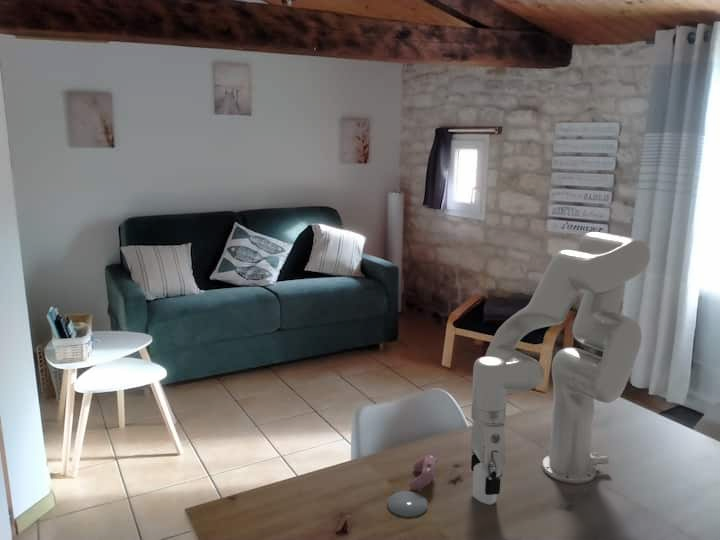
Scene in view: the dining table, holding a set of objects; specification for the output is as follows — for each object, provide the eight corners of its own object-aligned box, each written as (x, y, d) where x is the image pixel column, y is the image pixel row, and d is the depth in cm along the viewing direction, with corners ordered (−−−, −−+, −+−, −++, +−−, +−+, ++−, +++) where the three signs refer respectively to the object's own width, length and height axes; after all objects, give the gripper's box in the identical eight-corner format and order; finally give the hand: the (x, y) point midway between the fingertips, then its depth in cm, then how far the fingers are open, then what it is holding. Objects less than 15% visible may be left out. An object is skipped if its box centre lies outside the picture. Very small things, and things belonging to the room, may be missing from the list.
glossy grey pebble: (422, 492, 142) (422, 489, 142) (431, 515, 133) (431, 512, 133) (384, 495, 141) (384, 492, 141) (391, 518, 132) (391, 516, 132)
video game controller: (424, 498, 142) (438, 476, 140) (407, 488, 143) (421, 466, 141) (428, 476, 152) (441, 454, 150) (412, 467, 152) (425, 445, 150)
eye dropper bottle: (487, 490, 143) (490, 444, 140) (498, 504, 137) (501, 456, 135) (470, 493, 142) (472, 446, 139) (480, 507, 136) (482, 458, 134)
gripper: (519, 429, 127) (515, 502, 131) (491, 395, 144) (487, 461, 147) (485, 431, 126) (481, 505, 130) (460, 397, 143) (457, 463, 146)
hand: (484, 481), depth 138 cm, fingers open, 9 cm apart
